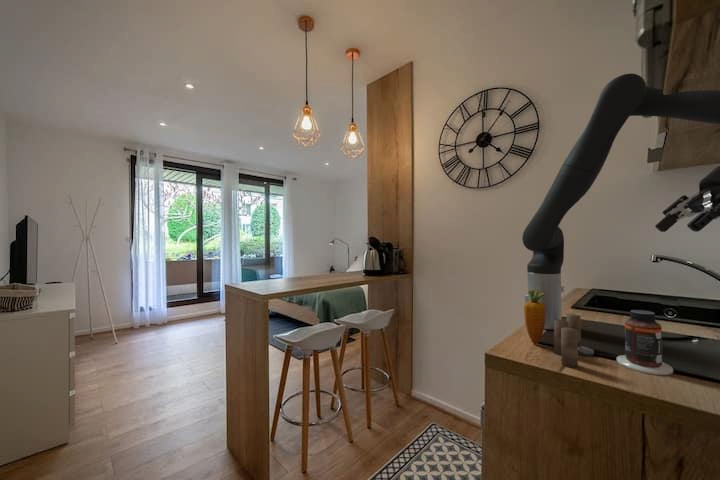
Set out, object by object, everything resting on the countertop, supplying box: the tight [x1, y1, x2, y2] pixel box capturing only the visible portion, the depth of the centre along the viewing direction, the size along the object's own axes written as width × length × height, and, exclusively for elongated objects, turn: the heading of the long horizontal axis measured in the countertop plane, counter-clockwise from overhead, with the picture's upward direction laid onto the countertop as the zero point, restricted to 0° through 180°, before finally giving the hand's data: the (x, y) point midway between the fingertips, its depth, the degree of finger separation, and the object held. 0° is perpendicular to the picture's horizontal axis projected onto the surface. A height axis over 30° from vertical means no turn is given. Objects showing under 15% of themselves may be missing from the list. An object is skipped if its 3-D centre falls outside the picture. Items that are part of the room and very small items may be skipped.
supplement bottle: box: [624, 309, 664, 367], centre depth 65 cm, size 6×6×11 cm
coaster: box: [616, 354, 674, 376], centre depth 65 cm, size 9×9×1 cm
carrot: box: [523, 289, 545, 345], centre depth 79 cm, size 5×5×15 cm
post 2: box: [565, 313, 582, 346], centre depth 78 cm, size 3×3×8 cm
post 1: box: [553, 319, 569, 356], centre depth 73 cm, size 3×3×8 cm
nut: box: [578, 345, 595, 357], centre depth 73 cm, size 4×4×1 cm
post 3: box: [560, 327, 579, 369], centre depth 66 cm, size 3×3×8 cm
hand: (674, 229), depth 66 cm, fingers open, 8 cm apart
